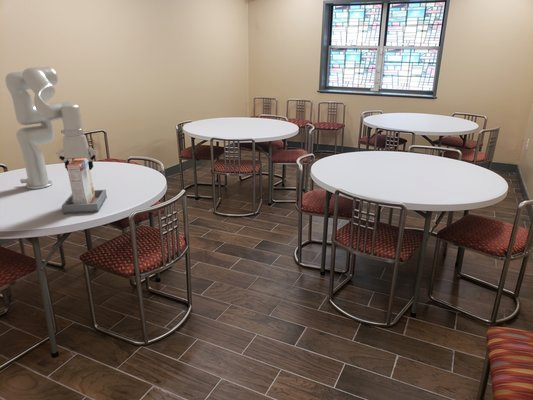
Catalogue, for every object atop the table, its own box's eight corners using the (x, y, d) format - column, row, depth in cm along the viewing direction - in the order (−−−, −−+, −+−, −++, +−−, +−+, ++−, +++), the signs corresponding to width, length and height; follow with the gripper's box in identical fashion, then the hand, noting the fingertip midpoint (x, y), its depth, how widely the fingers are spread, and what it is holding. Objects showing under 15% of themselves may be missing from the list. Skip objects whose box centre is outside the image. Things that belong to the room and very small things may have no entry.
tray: (63, 214, 183) (61, 205, 181) (75, 198, 201) (73, 191, 200) (98, 211, 185) (97, 203, 184) (106, 197, 204) (105, 189, 202)
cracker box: (83, 198, 199) (76, 156, 192) (95, 197, 200) (89, 156, 192) (73, 208, 186) (65, 164, 179) (87, 208, 187) (80, 164, 179)
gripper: (50, 134, 176) (57, 172, 183) (92, 134, 179) (97, 171, 185) (55, 131, 183) (62, 167, 189) (96, 130, 186) (101, 166, 192)
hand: (79, 169), depth 187 cm, fingers open, 9 cm apart
